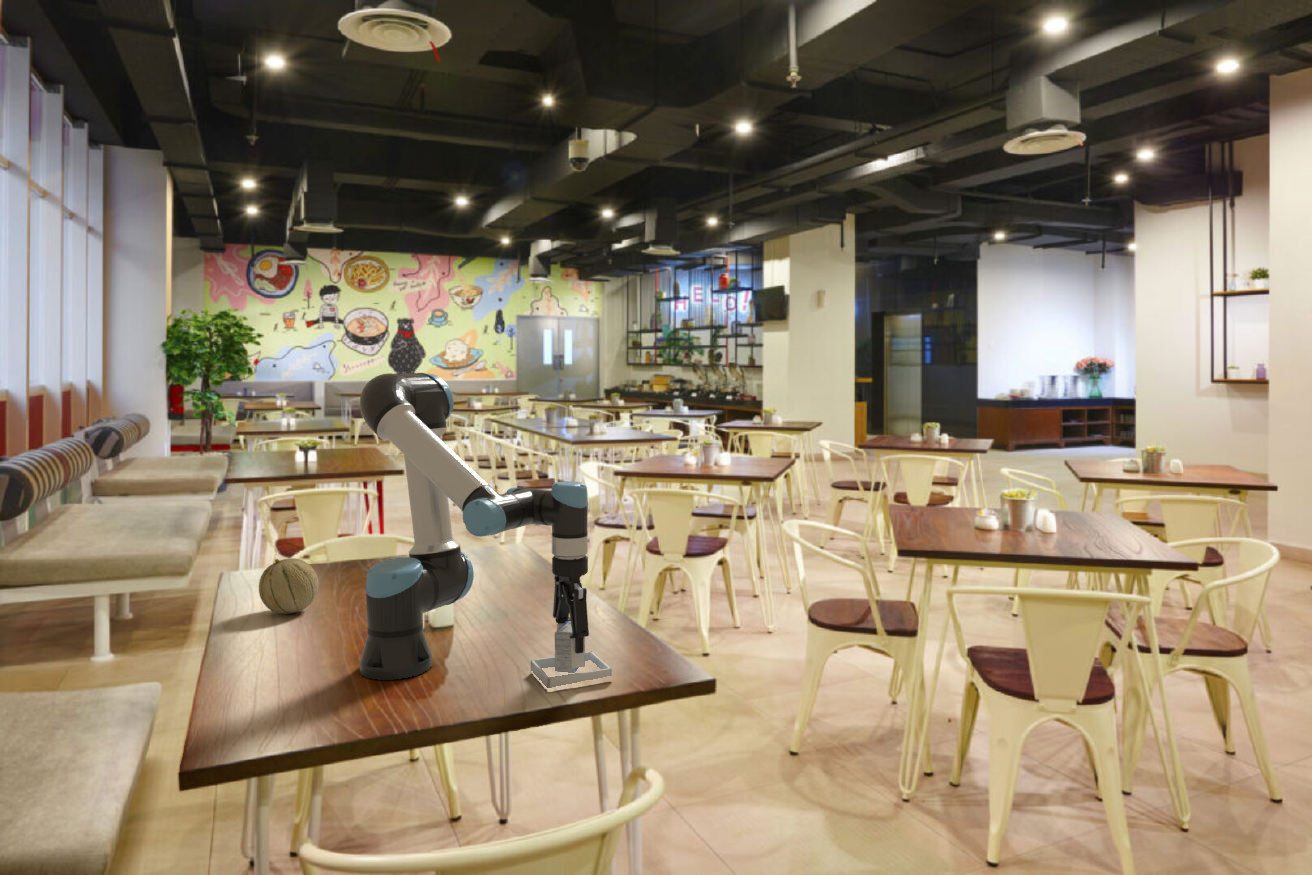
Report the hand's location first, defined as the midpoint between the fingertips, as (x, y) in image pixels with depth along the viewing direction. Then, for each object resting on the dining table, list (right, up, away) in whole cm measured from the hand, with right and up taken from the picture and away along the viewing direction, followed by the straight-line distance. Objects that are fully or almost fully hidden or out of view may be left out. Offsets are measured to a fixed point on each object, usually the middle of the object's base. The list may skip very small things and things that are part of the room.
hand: (570, 659), depth 182 cm
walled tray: (0, -4, 0) cm, 4 cm away
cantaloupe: (-80, 0, +47) cm, 93 cm away
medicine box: (0, -2, 0) cm, 2 cm away
